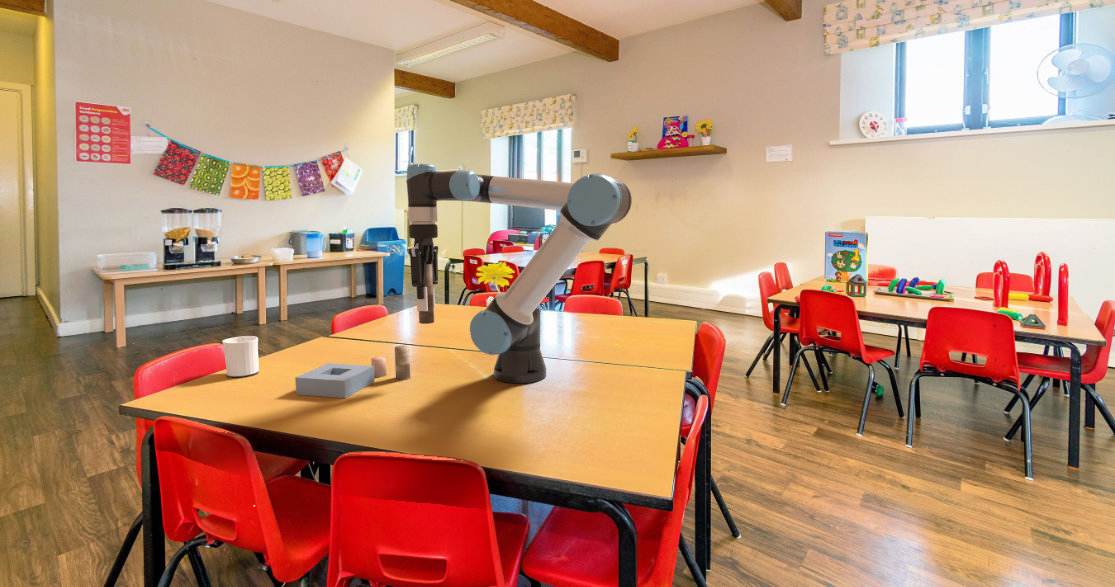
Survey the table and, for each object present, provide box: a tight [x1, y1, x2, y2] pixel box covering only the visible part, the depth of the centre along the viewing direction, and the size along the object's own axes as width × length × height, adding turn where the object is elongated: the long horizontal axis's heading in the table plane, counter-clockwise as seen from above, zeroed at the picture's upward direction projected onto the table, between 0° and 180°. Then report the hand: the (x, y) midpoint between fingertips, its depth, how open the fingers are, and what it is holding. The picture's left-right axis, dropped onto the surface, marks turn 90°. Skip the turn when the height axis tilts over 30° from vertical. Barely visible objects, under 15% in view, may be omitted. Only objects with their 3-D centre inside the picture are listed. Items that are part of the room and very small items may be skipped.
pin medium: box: [394, 345, 411, 381], centre depth 154 cm, size 4×4×9 cm
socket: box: [294, 362, 375, 399], centre depth 145 cm, size 14×14×4 cm
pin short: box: [370, 356, 387, 378], centre depth 157 cm, size 4×4×5 cm
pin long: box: [418, 264, 435, 325], centre depth 148 cm, size 4×4×16 cm
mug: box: [222, 335, 260, 379], centre depth 157 cm, size 11×9×10 cm
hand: (426, 309), depth 149 cm, fingers closed on pin long, 4 cm apart
